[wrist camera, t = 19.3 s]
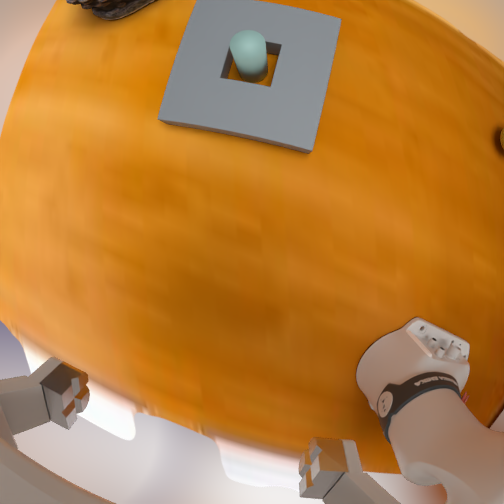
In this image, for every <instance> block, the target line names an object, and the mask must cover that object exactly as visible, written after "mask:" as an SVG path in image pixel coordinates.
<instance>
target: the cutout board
mask: <svg viewBox="0 0 504 504" xmlns="http://www.w3.org/2000/svg"><path fill="white" fill-rule="evenodd" d="M340 24H341V19H339V18H336V17H332V16H329V15H325V14H321V13H317V12H313V11H309V10H305V9H300V8H295V7H290V6H285V5H280V4H274V3H268V2H261V1H254V0H197V2H196V4H195V6H194V9H193V11H192V14H191V17H190V19H189V22H188V24H187V27H186V30H185V32H184V35H183V38H182V41H181V44H180V46H179V49H178V52H177V55H176V58H175V61H174V64H173V67H172V70H171V74H170V77H169V80H168V83H167V87H166V90H165V94H164V97H163V101H162V104H161V108H160V111H159V115H158V120H160V121H162V122H164V123H166V124H170V125H177V126H183V127H189V128H195V129H201V130H207V131H212V132H217V133H223V134H228V135H233V136H237V137H242V138H247V139H251V140H256V141H260V142H265V143H269V144H273V145H277V146H281V147H285V148H289V149H293V150H297V151H301V152H304V153H308V154H309V153H310V152H311V151H312V150H313V146H314V141H315V137H316V133H317V129H318V125H319V120H320V116H321V112H322V108H323V103H324V99H325V94H326V90H327V85H328V81H329V76H330V72H331V67H332V63H333V58H334V53H335V49H336V44H337V39H338V34H339V29H340ZM244 30H253V31H256V32H258V33H260V34H261V35H262V36H263V37H264V39H265V43H266V53H270V54H275V55H279V57H278V61H277V65H276V69H275V72H274V76H273V80H272V84H271V87H268V86H263V85H258V84H253V83H248V82H242V81H237V80H231V79H227V78H228V74H229V71H230V67H231V64H232V61H233V55H232V52H231V50H230V41H231V39H232V37H233V36H234V35H235V34H236V33H238V32H240V31H244Z"/></svg>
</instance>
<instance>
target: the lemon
mask: <svg viewBox="0 0 504 504" xmlns="http://www.w3.org/2000/svg"><path fill="white" fill-rule="evenodd" d="M500 142H501V145H502V147H503V149H504V128H503V130H502V131H501V134H500Z"/></svg>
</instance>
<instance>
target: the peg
mask: <svg viewBox="0 0 504 504" xmlns="http://www.w3.org/2000/svg"><path fill="white" fill-rule="evenodd" d="M230 50H231V52H232V55H233V58H234V61H235V63H236V66H237V69H238V72H239V74H240V76H241V78H242V79H243V80H245V81H246V82H250V83H256V82H260V81H262V80H263V79H264V78H265V77H266V75H267V73H268V66H267V54H266V43H265V39H264V37H263V36H262V35H261V34H260V33H258V32H256V31H253V30H244V31H240V32H238V33H236V34H235V35H234V36H233V37H232V39H231V41H230Z"/></svg>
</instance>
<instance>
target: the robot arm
mask: <svg viewBox="0 0 504 504" xmlns="http://www.w3.org/2000/svg"><path fill="white" fill-rule="evenodd" d="M422 326H423V327H422ZM421 327H422V328H421ZM420 328H421V329H420ZM468 356H469V343H468V342H467V341H465V340H464V339H462V338H460V337H458V336H456V335H454V334H452V333H450V332H448V331H446V330H444V329H442V328H439V327H437V326H435V325H433V324H431V323H429V322H427V321H425V320H423V319H421V318H419V317H416V318H414V319H412V320H411V321H409V322H408V323H407V324H406V325H405V326H404V327H402V328H401V329H399V330H397V331H394V332H392V333H389V334H387V335H385V336H384V337H382V338H380V339H379V340H377V341H376V342H375V343H374V344H373V345H372V346H370V348H369V349H368V350H367V351H366V352H365V354H364V355H363V356H362V358H361V360H360V362H359V365H358V368H357V373H356V379H357V384H358V386H359V388H360V389H361V391H362V392H363V393H364V394H365V396H366V397H367V398H368V402H369V405H370V407H371V409H372V410H375V412H376V414H377V415H378V417H379V422H380V425H381V427H382V430H383V434H384V436H385V437H386V439H387V441H388V442H389V443H390V444H391V445H392V448H393V450H394V453H395V456H396V459H397V462H398V465H399V467H400V470H401V473H402V475H403V476H404V478H406V479H407V480H408V481H410V482H412V483H414V484H417V485H422V486H429V485H435V484H440V483H442V485H443V486H444V488H445V489H446V491H447V501H446V503H445V504H504V432H497V431H493V430H491V429H489V428H487V427H485V426H484V425H482V424H481V423H480V422H479V421H478V420H477V419H476V418H475V416H474V415H473V414H472V413H471V412H470V410H469V409H468V408H467V407H466V405H465V402H466V401H467V399H468V397H469V395H468V396H467V397H466V394H467V392H465V393H464V395H463V397H462V398H461V395H460V393H461V391H462V389H463V388H464V386H465V384H466V381H467V379H468V376H469V371H470V366H469V363H468V362H467V359H468ZM87 382H88V374H87V373H85V372H83V371H81V370H79V369H77V368H75V367H73V366H71V365H69V364H68V363H66V362H63V361H61V360H60V359H58V358H56V357H51V358H49V359H48V360H47V361H46V362H45V363H44V364H42V365H41V366H40V367H39V368H38V369H37V370H36V371H35V372H33V373H32V374H31V375H30V376H29V377H27V376H20V377H14V378H9V379H2V380H0V504H116V503H113V502H111V501H109V500H106V499H104V498H102V497H99V496H97V495H95V494H93V493H91V492H89V491H87V490H85V489H83V488H81V487H79V486H77V485H75V484H73V483H71V482H69V481H67V480H66V479H64V478H62V477H60V476H58V475H57V474H55V473H53V472H52V471H50V470H48V469H47V468H45V467H43V466H42V465H40V464H39V463H37V462H35V461H34V460H32V459H31V458H29V457H28V456H26V455H25V454H23V453H22V452H20V451H19V450H18V448H17V444H16V442H15V439H14V437H13V435H15V434H18V433H21V432H24V431H26V430H29V429H32V428H34V427H37V426H39V425H42V424H44V423H47V422H50V420H51V421H53V422H55V423H56V424H58V425H60V426H62V427H64V428H66V429H68V430H69V429H70V428H71V426H72V425H73V424H74V422H75V421H76V420H77V415H76V414H77V413H80V412H83V411H84V409H85V408H86V406H87V404H88V401H89V396H90V393H89V389H88V387H87V386H86V384H87ZM465 397H466V399H465ZM299 474H300V476H301V477H302V480H301V481H300V483H299V489H300V497H304V498H315V499H323V502H324V503H325V504H401V503H399V502H398V501H397V500H396V499H395V498H394V497H392V496H391V495H390V494H389V493H388V492H387V491H386V490H385V489H383V488H382V487H381V486H380V485H379V484H378V483H377V482H376V481H375V480H374V479H373V478H371V477H370V476H369V475H368V474H367V473H363V471H362V467H361V463H360V459H359V455H358V451H357V447H356V443H355V441H354V440H344V439H332V438H321V437H313V438H312V439H311V440H310V442H309V449H307V450H305V451H304V452H303V454H302V456H301V459H300V462H299Z"/></svg>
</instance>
